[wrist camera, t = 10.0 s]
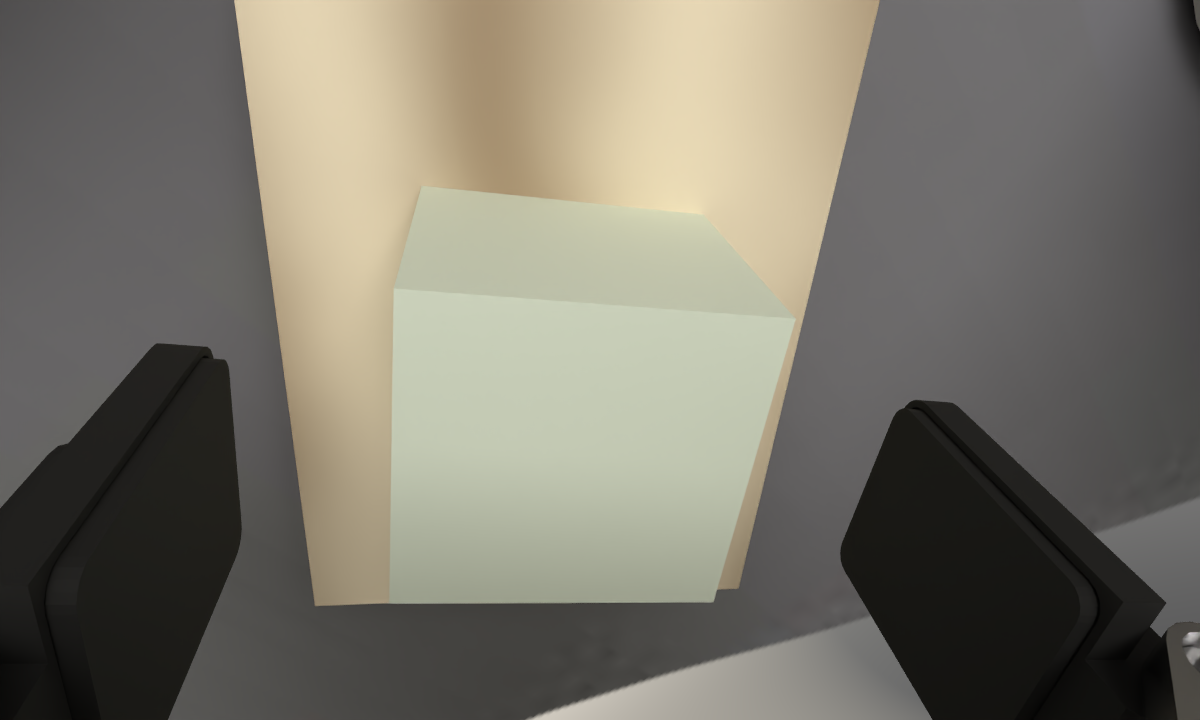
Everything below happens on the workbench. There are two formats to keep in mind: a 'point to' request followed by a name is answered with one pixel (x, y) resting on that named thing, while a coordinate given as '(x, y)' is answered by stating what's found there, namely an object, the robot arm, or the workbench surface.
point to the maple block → (517, 181)
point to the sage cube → (572, 401)
